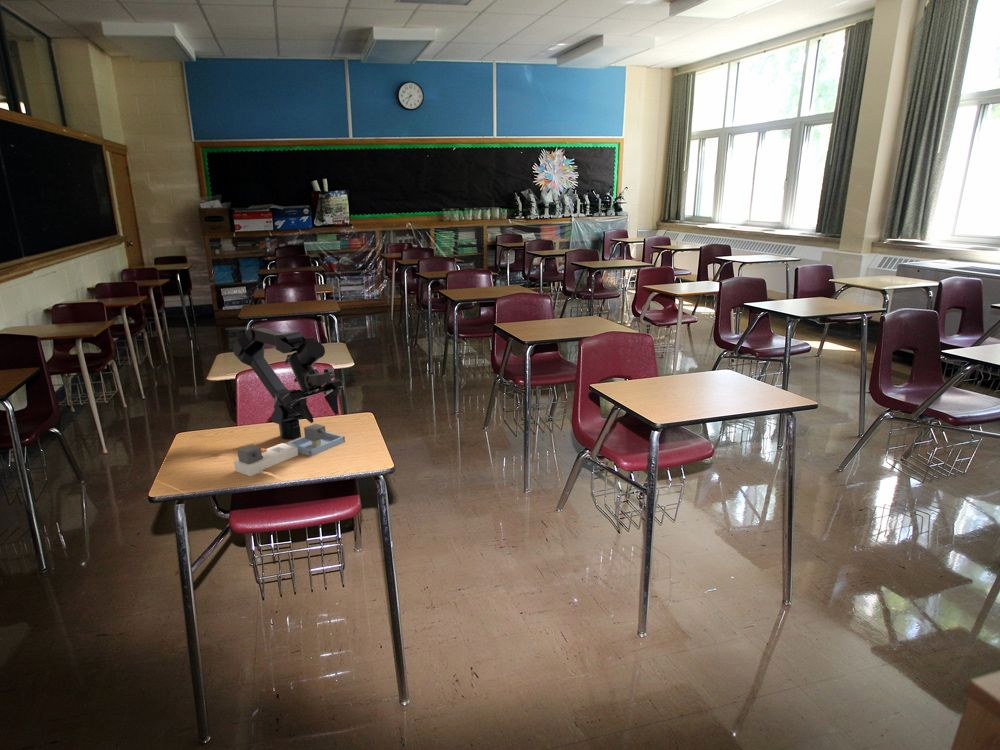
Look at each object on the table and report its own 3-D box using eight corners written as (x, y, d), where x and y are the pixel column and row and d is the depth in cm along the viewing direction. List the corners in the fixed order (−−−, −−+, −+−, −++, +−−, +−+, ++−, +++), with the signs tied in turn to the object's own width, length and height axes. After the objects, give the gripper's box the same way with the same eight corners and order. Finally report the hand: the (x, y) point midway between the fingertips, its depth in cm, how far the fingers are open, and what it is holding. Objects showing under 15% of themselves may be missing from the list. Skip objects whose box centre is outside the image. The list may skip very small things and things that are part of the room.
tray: (287, 450, 189) (286, 443, 188) (321, 437, 199) (321, 430, 198) (311, 457, 183) (310, 450, 182) (345, 443, 193) (344, 436, 192)
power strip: (235, 471, 175) (232, 449, 173) (283, 452, 188) (280, 432, 186) (255, 478, 170) (251, 456, 168) (303, 458, 182) (300, 437, 181)
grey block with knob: (306, 446, 190) (303, 427, 189) (317, 441, 194) (315, 423, 192) (319, 450, 187) (317, 431, 185) (331, 445, 190) (329, 427, 188)
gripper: (290, 366, 174) (313, 417, 173) (342, 354, 189) (363, 401, 188) (271, 381, 181) (293, 430, 180) (323, 368, 196) (343, 413, 194)
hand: (325, 418), depth 185 cm, fingers open, 9 cm apart
